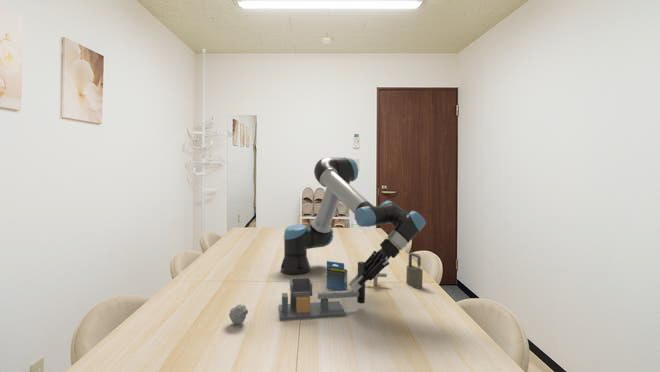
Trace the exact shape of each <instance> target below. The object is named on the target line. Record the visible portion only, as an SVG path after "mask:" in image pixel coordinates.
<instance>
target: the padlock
mask: <svg viewBox="0 0 660 372" xmlns="http://www.w3.org/2000/svg"><path fill="white" fill-rule="evenodd" d="M413 257H414V258H417V266H416V265H412V263H413V262H412V261H413ZM421 261H422V258H421V256H420V255H419V254H418V253H415V252H410V253H409V254H408V265H406V279H405V280H406V282H405V283H406V284H407V285H408V286H411V287H413V288H415V289H421V288H423V274H424V273H423V271H424V270H423V269H422V268H421V264H422V262H421Z"/></svg>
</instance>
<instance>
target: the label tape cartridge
mask: <svg viewBox="0 0 660 372" xmlns="http://www.w3.org/2000/svg"><path fill="white" fill-rule="evenodd" d="M326 288H327V289H334V290H338V291H346V290H347V289H348V270H347V269H345V263H344V262H337V261H331V260H330V261H329V260H326Z"/></svg>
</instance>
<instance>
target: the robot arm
mask: <svg viewBox="0 0 660 372" xmlns="http://www.w3.org/2000/svg"><path fill="white" fill-rule="evenodd" d="M313 174H314V177H315V179H316V181H317V182H318V184H320V186H322V187H324V188H326V189H325V192H324V193H323V196H322V200H321V202H320V205H319V208H318V210H317V213H316V217H315V219H312V220H311V222H310V224H309V226H307V225H306V224H293V225H290V226H287V227H285V229H284V234H283V240H284V241H283V244H284V247H283V248H284V250H283V252H284V255H283V259H282V261H281V262H282V263H281V264H280V265H281V266H280V271H281V273H283V274H286V275H295V276H296V275H304V274H307V273H309V272H310V271H311V264H310V261H309V258H308V255H307V252H308V250H309V249H318V248H324V247H327V246H329V245H331V243H332V241H333V238H334V231H333V228H332V227H333V226H332V225H331V224H332V222H333V219H334V216H335V213H336V211H337V209H338V206H339V203H340V201H341V202H342V203H343V204H344V205H345V206H346V207H347V208H348V209H349V210H350V211H351V212H352V213H353V214H354V220H355V223H356V225H358V227H362V228H363V227H367V228H369V227H375V226H380V225H381V226H382V225H387V224H388V225H389V224H390V225H392V226H393V227H394V229H393V230H392V231H391V232H390V233H389V234H388V235H387V237H386V238H384V240H383V241H381V243H380V244H379V245H380V246H379V247H381V248H380V249H379V250H377V251H376V250H374V251H372V253H371V254H370V256H369V257H368V258H367V259H366V260H365V261H364V262H365V263H366V266H365V274H363V273H362V275H363V276H362V275H361V276H360V278H359V279H358V273H356V275H355V276H354V277H353V278H352V279H351V280H350V281H349V282H348V283H347V286H349V287H350V290H353V291H354V292H355V293H356V292H357V290H358V289H359V288H360V287H361V286H362V285H363V284H364V283H365V284H366V282H367V281H373V280H374V279H373V278H374V277H375V276H376V275H377V274H378V273H381V271H383V270H384V268H386V267H388V266H389V264H390V262H389V260H390V258H393V259H395V258H396V257H397V256H398V255H399V254H400V252H401V251H402V250H403V249H404V248H406V247H407V245H408V244H409V243H410V242H411V241H412V239H414V237H416V236H417V234H419V233H420V232H421V230H423V228H424V227H425V226H426V224H427V222H426V220H425V218H424V216H422V215H421V214H420V213H419V212H418V211H415V210H411V211H410V212H407V211H405V210H404V209H403V208H402V207H400V206H399V205H397V203H394V202H393V201H391V200H385V201H384V202H382V203H380V205H377V206H375V205H373V204H372V203H370V201H368V200H367V199H366V198H365V197H364V196H363V195H362V194H361V193H359V191H357V190H356V188H354V187H353V186H352V185H350V183H351V182H354V181H356V180H357V179H358V176H359V168H358V164H357V162H356V160H354V158H351V157H345V156H344V157H334V156H333V157H329V156H328V157H323V158H321V159H319V160H318V161H317V162H316V164H315V166H314V170H313Z"/></svg>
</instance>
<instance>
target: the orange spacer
mask: <svg viewBox="0 0 660 372" xmlns="http://www.w3.org/2000/svg"><path fill="white" fill-rule="evenodd" d="M310 303H311V296H302V297H296V311H297V313H299V312H310Z"/></svg>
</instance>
